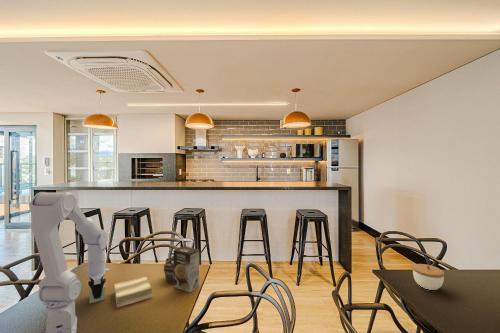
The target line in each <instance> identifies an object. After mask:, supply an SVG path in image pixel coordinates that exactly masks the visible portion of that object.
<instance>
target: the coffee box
mask: <svg viewBox="0 0 500 333" xmlns="http://www.w3.org/2000/svg"><path fill="white" fill-rule="evenodd" d="M173 255H174V283H173V288H175V289H178V290H181V291H183V292H187V293H191V292H193V291H194V290H196V289H197V288H199V287H200V249H199V248H195V247H190V246H186V245H183V246H179V247H177V248H175V249H174V250H173Z"/></svg>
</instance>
